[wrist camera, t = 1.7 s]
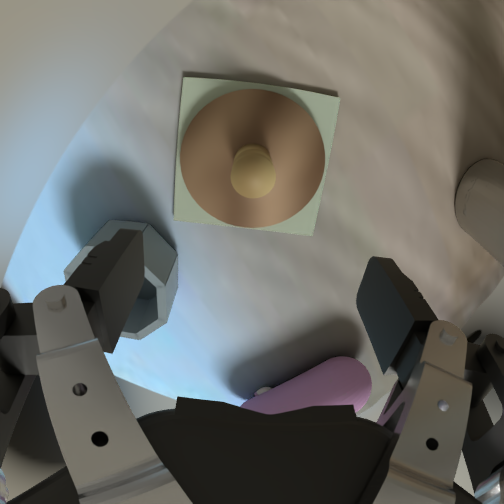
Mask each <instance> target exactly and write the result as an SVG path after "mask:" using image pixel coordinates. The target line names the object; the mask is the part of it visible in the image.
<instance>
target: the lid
mask: <svg viewBox="0 0 504 504" xmlns="http://www.w3.org/2000/svg"><path fill="white" fill-rule="evenodd" d="M180 167H181V173H182V177H183V180H184V183H185V185H186V187H187V190H188V191H189V193H190V195H191V196H192V198H193V199H194V200H195V201H196V203H197V204H198V205H199V206H200V207H201V208H202V209H203V210H204V211H206V212H207V213H208V214H210V215H211V216H213V217H214V218H216V219H218V220H220V221H222V222H224V223H227V224H230V225H234V226H238V227H244V228H260V227H267V226H272V225H275V224H278V223H281V222H283V221H285V220H287V219H289V218H291V217H292V216H294V215H295V214H297V213H298V212H299V211H301V210H302V209H303V208H304V207H305V206H306V205H307V204H308V203H309V202H310V200H311V199H312V198H313V196H314V195H315V193H316V191H317V190H318V188H319V185H320V183H321V181H322V177H323V173H324V168H325V149H324V143H323V140H322V136H321V134H320V132H319V129H318V127H317V125H316V124H315V122H314V121H313V119H312V118H311V117H310V115H309V114H308V113H307V112H306V111H305V110H304V109H303V108H302V107H301V106H300V105H298V104H297V103H296V102H294V101H293V100H291V99H289V98H287V97H285V96H283V95H281V94H278V93H275V92H272V91H268V90H262V89H243V90H238V91H233V92H230V93H227V94H224V95H222V96H220V97H218V98H216V99H214V100H213V101H211V102H210V103H208V104H207V105H206V106H204V107H203V108H202V109H201V110H200V111H199V112H198V113H197V114H196V116H195V117H194V118H193V119H192V121H191V123H190V124H189V126H188V128H187V130H186V132H185V134H184V137H183V141H182V144H181V151H180Z"/></svg>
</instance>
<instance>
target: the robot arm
mask: <svg viewBox="0 0 504 504" xmlns="http://www.w3.org/2000/svg"><path fill="white" fill-rule="evenodd" d="M455 211H456V217H457V220H458V223H459V225H460V226H461V228H462V229H463V230H464V231H465V232H466V233H467V234H469V235H470V236H471V237H472V238H473V239H474V240H475V241H477V242H478V243H479V244H480V245H481V246H482V247H483V248H484V249H485V250H486V251H487V252H489V253H490V254H491V255H492V256H493V257H494V258H495V259H496V260H497V261H498V262H499V263H500V264H501V265H502V266H503V267H504V164H502V163H500V162H497V161H495V160H493V159H484V160H480V161H478V162H476V163H475V164H474V165H473V166H471V167H470V168H469V169H468V171H467V172H466V173H465V175H464V176H463V178H462V180H461V182H460V185H459V187H458V190H457V194H456V201H455ZM144 275H145V266H144V247H143V233H142V231H141V230H135V229H125V228H120V229H119V230H118V231H117V232H116V234H115V235H114V236H113V237H112V239H111V240H110V241H103V242H102V243H100V244H98V245H96V246H95V247H93V249H92V250H91V251H90V252H89V253H88V255H87V257H85V258H84V260H83V261H82V262H81V264H80V265H79V266H78V267H77V268H76V270H75V271H74V272H73V273H72V275H71V276H70V277H69V279H68V280H67V281H66V282H65V284H64V285H56V286H52V287H49V288H46V289H44V290H43V291H41V292H40V293H39V294H38V295H37V296H36V297H35V299H34V301H33V303H15V304H13V303H12V300H11V297H10V294H9V292H8V291H7V290H5V289H2V288H0V504H504V338H502V337H501V336H499V335H496V334H489V335H487V336H486V338H485V339H484V341H483V342H482V344H481V345H477V344H473V343H469V342H467V339H466V336H465V335H464V333H463V332H462V331H461V330H460V329H459V328H458V327H457V326H455V325H454V324H452V323H450V322H448V321H444V320H438V318H437V317H436V315H435V314H434V312H433V311H432V309H431V308H430V306H429V305H428V303H427V302H426V300H425V299H423V296H422V294H421V293H420V292H418V288H417V287H416V286H415V284H414V283H413V281H412V280H410V279H409V278H408V277H407V276H406V275H404V274H403V273H402V272H401V270H400V269H399V267H398V266H397V265H396V263H395V262H394V260H393V259H391V258H383V257H375V256H373V257H371V258H370V260H369V262H368V264H367V267H366V270H365V273H364V276H363V279H362V282H361V284H360V287H359V290H358V293H357V299H356V304H357V309H358V311H359V314H360V316H361V319H362V321H363V323H364V326H365V328H366V331H367V333H368V336H369V338H370V341H371V343H372V346H373V348H374V351H375V354H376V356H377V359H378V361H379V364H380V367H381V369H382V372H383V375H396V374H397V375H398V377H399V378H398V379H397V381H396V382H395V384H394V386H393V388H392V390H391V393H390V395H389V397H388V399H387V402H386V404H385V406H384V408H383V410H382V412H381V415H380V417H379V419H378V421H377V422H373V421H370V420H368V419H364V418H360V417H356V413H355V409H354V405H353V404H352V405H325V406H310V407H306V408H302V409H297V410H292V411H288V412H283V413H278V414H264V413H260V412H256V411H253V410H249V409H245V408H242V407H238V406H235V405H232V404H228V403H225V402H219V401H210V400H201V399H193V398H185V397H177V403H176V408H175V409H168V410H162V411H157V412H153V413H149V414H146V415H144V416H142V417H139V418H137V419H136V418H135V416H134V415H133V413H132V411H131V409H130V407H129V405H128V403H127V401H126V400H125V397H124V396H123V393H122V392H121V390H120V387H119V385H118V383H117V381H116V379H115V377H114V375H113V373H112V370H111V368H110V366H109V364H108V361H107V359H106V357H105V355H104V352H107V353H112V354H113V351H114V349H115V347H116V344H117V342H118V340H119V337H120V335H121V333H122V330H123V328H124V326H125V323H126V321H127V319H128V317H129V314H130V312H131V310H132V308H133V306H134V303H135V301H136V299H137V297H138V295H139V293H140V290H141V288H142V286H143V282H144ZM36 375H40V379H41V384H42V388H43V392H44V396H45V400H46V404H47V408H48V411H49V415H50V418H51V422H52V425H53V428H54V431H55V434H56V437H57V440H58V443H59V446H60V449H61V451H62V454H63V457H64V460H65V462H66V465H67V466H65V467H64V468H62V469H60V470H59V471H57V472H56V473H54V474H53V475H51V476H50V477H48V478H47V479H45V480H43V481H42V482H40V483H38V484H37V485H35V486H34V487H32V488H31V489H29V490H27V491H25V492H24V493H22V494H20V495H19V496H17V497H15V498H13V499H12V500H10V501H8V502H7V503H6V499H7V498H8V496H9V492H8V489H7V487H6V480H5V476H4V473H3V471H2V469H1V466H2V462H3V459H4V456H5V453H6V450H7V447H8V444H9V441H10V438H11V436H12V433H13V430H14V427H15V425H16V422H17V419H18V417H19V414H20V412H21V409H22V407H23V404H24V402H25V399H26V397H27V395H28V393H29V390H30V388H31V386H32V383H33V381H34V379H35V376H36ZM493 387H494V389H495V391H496V393H497V395H498V397H499V399H500V401H501V403H502V407H503V413H502V416H501V418H500V420H499V421H498V422H497V423H496V424H495V425H493V423H492V421H491V418H490V416H489V414H488V411H487V409H486V407H485V404H484V402H483V399H484V397H485V396H486V395H487V394H488V393H489V391H490V390H491V389H492V388H493ZM461 450H462V452H463V455H464V458H465V462H466V465H467V468H468V472H469V475H470V479H471V482H472V486H473V490H474V494H475V496H474V497H473V496H472V495H471V494H470V493H468V492H467V491H466V490H464V489H463V488H462V487H460V486H459V485H458V484H456V483H455V482H454V478H455V474H456V470H457V467H458V463H459V459H460V455H461Z"/></svg>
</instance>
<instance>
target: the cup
mask: <svg viewBox="0 0 504 504" xmlns="http://www.w3.org/2000/svg"><path fill="white" fill-rule="evenodd" d="M120 228H125V229H135V230H141V231H142V233H143V247H144V266H145V275H144V282H143V286H142V288H141V290H140V293H139V295H138V297H137V299H136V301H135V303H134V306H133V308H132V310H131V312H130V314H129V317H128V319H127V321H126V323H125V326H124V328H123V330H122V333H121V335H120V337H125V338H131V339H137V340H139V339H140V340H141V339H142V338H144V337H145V336H147V335H149V334H150V333H152V332H153V331H155V330H156V329H158V328H159V327H161V326H163V325H164V324H166V323H167V321H168V317H169V314H170V311H171V308H172V304H173V301H174V298H175V295H176V292H177V289H178V254H177V252H176V251H175V250H174V249H173V248H172V247H171V246H170V245H169V244H168V243H167V242H166V241H165V240H164V239H163V238H162V237H161V236H160V235H159V234H158V233H157V232H156V230H155V229H154V228H153V227H152V226H151V225H150V224H148V223H141V222H130V221H120V220H109V221H108V222H107V223H106V224H105V225H104V226H103V227H102V228H101V229H100V230H99V231H98V232H97V233H96V234H95V235H94V236H93V237H92V238H91V240H90V241H89V242H88V243H87V244H86V245H85V246H84V247H83V248H82V250H81V251H80V252H79V253H78V254H77V255H76V256H75V258H74V259H73V260H72V261H71V262H70V264H69V265H68V266H67V267H66V268H65V269H64V275H65V280H66V281H67V280H68V279H69V277H70V276H71V275H72V273H73V272H74V271H75V270H76V268H77V267H78V266H79V265H80V264H81V262H82V261H83V260H84V258H85V257H87V255H88V253H89V252H90V251H91V250H92V249H93V247H95V246H96V245H98V244H100V243H102V242H103V241H110V240H111V239H112V237H113V236H114V235H115V234H116V232H117V231H118V230H119V229H120Z"/></svg>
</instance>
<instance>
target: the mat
mask: <svg viewBox="0 0 504 504" xmlns="http://www.w3.org/2000/svg"><path fill="white" fill-rule="evenodd" d="M243 89H262V90H268V91H272V92H275V93H278V94H281V95H283V96H285V97H287V98H289V99H291V100H293V101H294V102H296V103H297V104H298V105H300V106H301V107H302V108H303V109H304V110H305V111H306V112H307V113H308V114H309V115H310V117H311V118H312V119H313V121H314V122H315V124H316V125H317V127H318V129H319V132H320V134H321V136H322V140H323V143H324V149H325V168H324V173H323V177H322V181H321V183H320V185H319V188H318V190H317V191H316V193H315V195H314V196H313V198H312V199H311V200H310V202H309V203H308V204H307V205H306V206H305V207H304V208H303V209H302V210H301V211H299V212H298V213H297V214H295V215H294V216H292V217H291V218H289V219H287V220H285V221H283V222H281V223H278V224H275V225H272V226H267V227H260V228H248V229H257V230H265V231H274V232H282V233H290V234H299V235H307V236H313V231H314V227H315V223H316V218H317V214H318V209H319V205H320V200H321V196H322V191H323V186H324V182H325V177H326V172H327V167H328V162H329V157H330V152H331V147H332V142H333V137H334V131H335V126H336V120H337V115H338V109H339V103H340V98H338V97H334V96H329V95H324V94H320V93H315V92H309V91H304V90H299V89H293V88H287V87H281V86H274V85H267V84H260V83H251V82H243V81H233V80H222V79H208V78H190V77H183V86H182V96H181V106H180V116H179V128H178V141H177V156H176V173H175V195H174V221H184V222H193V223H203V224H212V225H221V226H230V227H238V226H234V225H230V224H227V223H224V222H222V221H220V220H218V219H216V218H214V217H213V216H211V215H210V214H208V213H207V212H206V211H204V210H203V209H202V208H201V207H200V206H199V205H198V204H197V203H196V201H195V200H194V199H193V198H192V196H191V195H190V193H189V191H188V190H187V187H186V185H185V183H184V180H183V177H182V173H181V167H180V151H181V144H182V141H183V137H184V134H185V132H186V130H187V128H188V126H189V124H190V123H191V121H192V119H193V118H194V117H195V116H196V114H197V113H198V112H199V111H200V110H201V109H202V108H203V107H204V106H206V105H207V104H208V103H210V102H211V101H213V100H214V99H216V98H218V97H220V96H222V95H224V94H227V93H230V92H233V91H238V90H243ZM239 228H244V227H239Z"/></svg>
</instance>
